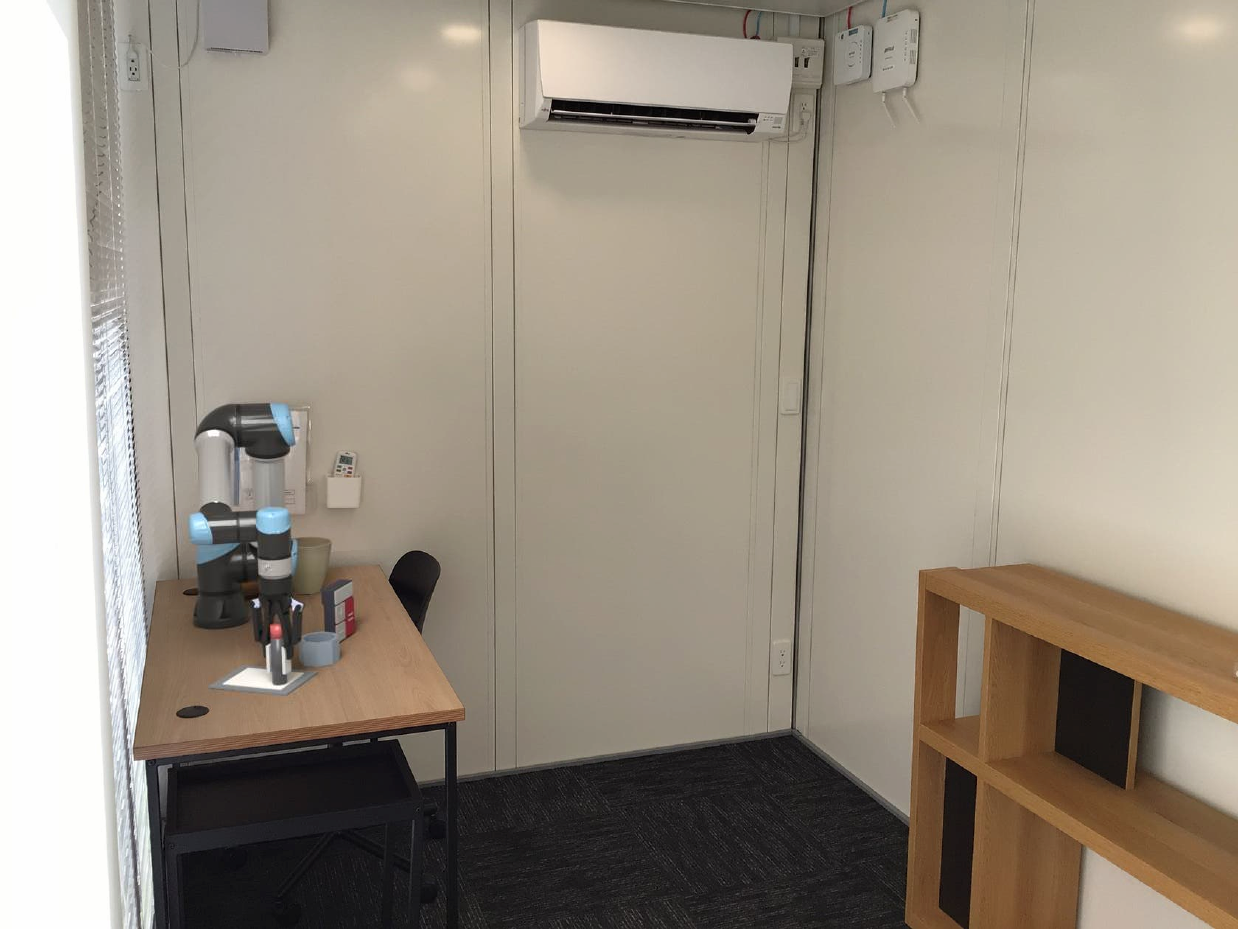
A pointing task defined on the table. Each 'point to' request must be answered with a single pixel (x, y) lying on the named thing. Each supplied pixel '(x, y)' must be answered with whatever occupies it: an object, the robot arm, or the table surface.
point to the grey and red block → (339, 608)
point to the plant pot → (311, 564)
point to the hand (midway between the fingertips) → (279, 671)
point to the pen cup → (319, 649)
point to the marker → (277, 653)
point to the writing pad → (261, 680)
